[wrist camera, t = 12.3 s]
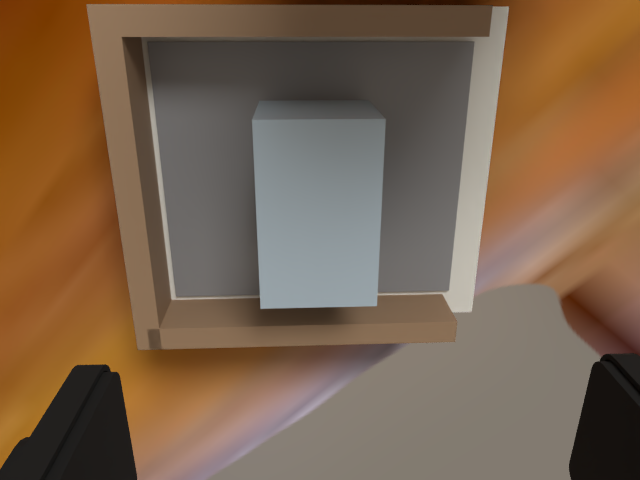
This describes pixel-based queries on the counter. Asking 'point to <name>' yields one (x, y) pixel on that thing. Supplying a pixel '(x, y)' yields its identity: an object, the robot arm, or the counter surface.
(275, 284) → the tall pale blue box
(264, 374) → the counter surface
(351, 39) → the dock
